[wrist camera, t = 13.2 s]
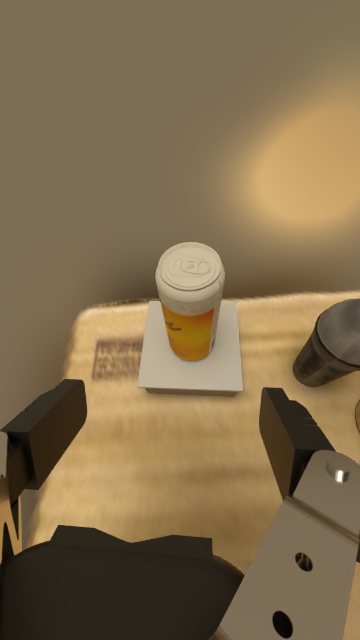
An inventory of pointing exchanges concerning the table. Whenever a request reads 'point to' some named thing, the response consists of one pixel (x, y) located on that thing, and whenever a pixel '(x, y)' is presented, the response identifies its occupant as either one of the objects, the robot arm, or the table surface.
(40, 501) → the table surface
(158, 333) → the grey square box
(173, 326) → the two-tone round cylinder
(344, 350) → the beverage cup
